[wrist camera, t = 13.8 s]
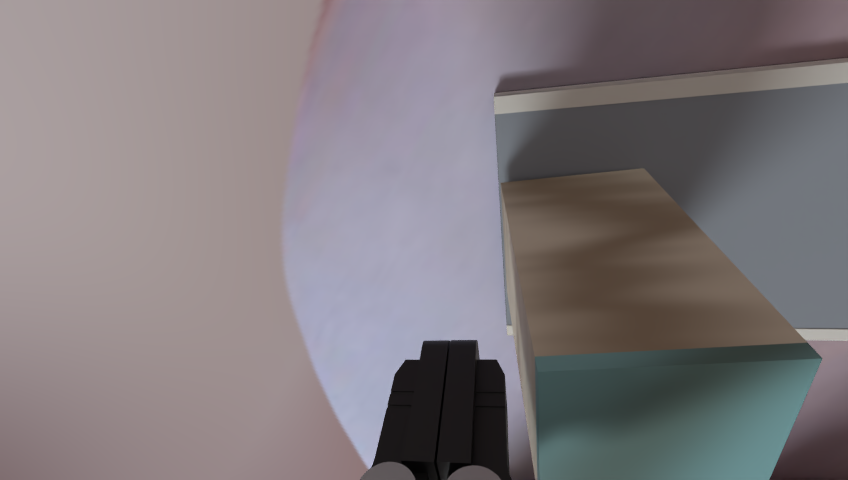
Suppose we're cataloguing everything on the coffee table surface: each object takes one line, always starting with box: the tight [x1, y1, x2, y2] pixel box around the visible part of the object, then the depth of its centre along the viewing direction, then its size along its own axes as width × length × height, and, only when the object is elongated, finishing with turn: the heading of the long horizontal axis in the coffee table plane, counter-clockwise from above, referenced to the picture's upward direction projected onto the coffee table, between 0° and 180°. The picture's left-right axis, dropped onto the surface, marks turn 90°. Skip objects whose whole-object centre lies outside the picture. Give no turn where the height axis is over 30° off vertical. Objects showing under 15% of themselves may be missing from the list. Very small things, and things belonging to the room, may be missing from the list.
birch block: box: [501, 168, 822, 480], centre depth 13 cm, size 5×5×9 cm
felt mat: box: [494, 58, 848, 341], centre depth 17 cm, size 14×11×1 cm
